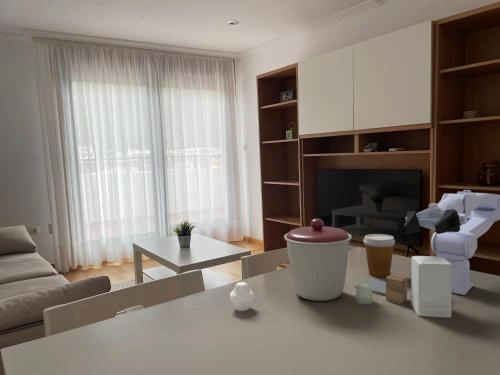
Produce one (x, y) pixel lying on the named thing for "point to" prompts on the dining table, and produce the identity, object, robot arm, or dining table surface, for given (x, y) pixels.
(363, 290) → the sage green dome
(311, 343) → the dining table surface
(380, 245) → the disposable coffee cup
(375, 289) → the slate mat
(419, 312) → the supplement box
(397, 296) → the walnut block
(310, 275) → the canister
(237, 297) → the white rounded piece
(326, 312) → the dining table surface
